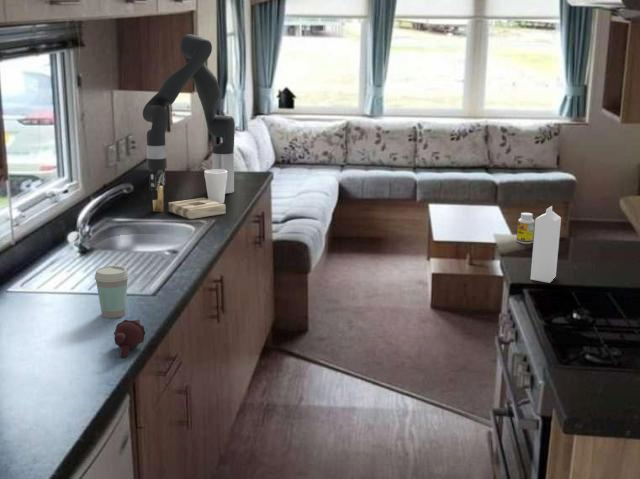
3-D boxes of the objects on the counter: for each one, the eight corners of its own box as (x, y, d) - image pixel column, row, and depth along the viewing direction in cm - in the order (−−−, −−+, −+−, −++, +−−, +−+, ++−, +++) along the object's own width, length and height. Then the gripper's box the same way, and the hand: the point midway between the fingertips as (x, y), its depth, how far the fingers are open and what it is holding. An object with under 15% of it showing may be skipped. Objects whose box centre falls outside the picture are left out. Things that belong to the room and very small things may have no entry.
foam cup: (229, 200, 352) (229, 169, 348) (225, 205, 343) (224, 173, 339) (207, 199, 353) (207, 168, 349) (202, 204, 344) (201, 172, 340)
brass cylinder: (151, 210, 331) (150, 185, 329) (160, 209, 334) (159, 184, 331) (156, 212, 328) (155, 187, 326) (165, 211, 331) (164, 186, 328)
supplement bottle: (513, 240, 296) (515, 212, 293) (527, 239, 297) (529, 211, 295) (522, 244, 290) (524, 216, 288) (535, 243, 292) (538, 215, 290)
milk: (555, 278, 254) (562, 207, 248) (549, 283, 249) (556, 210, 243) (535, 274, 257) (542, 204, 251) (529, 279, 252) (536, 207, 246)
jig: (168, 211, 331) (168, 202, 330) (203, 206, 341) (203, 197, 340) (190, 219, 319) (189, 210, 318) (225, 213, 329) (225, 204, 328)
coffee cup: (132, 318, 215) (130, 273, 212) (98, 321, 212) (95, 276, 209) (128, 307, 223) (126, 263, 220) (95, 310, 220) (92, 266, 217)
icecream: (119, 310, 202) (99, 338, 188) (148, 304, 201) (129, 332, 187) (129, 335, 204) (109, 365, 190) (157, 329, 203) (139, 359, 189)
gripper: (161, 159, 318) (162, 201, 322) (170, 154, 332) (172, 194, 336) (141, 159, 319) (143, 201, 323) (152, 153, 332) (153, 193, 337)
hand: (157, 197), depth 329 cm, fingers open, 8 cm apart
